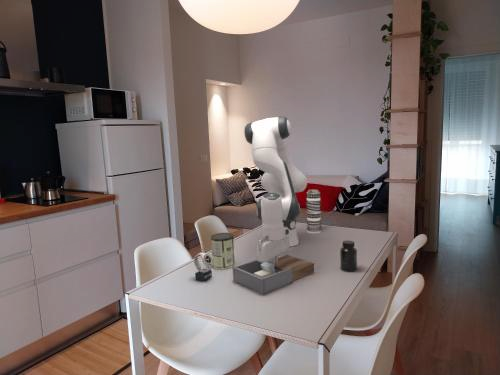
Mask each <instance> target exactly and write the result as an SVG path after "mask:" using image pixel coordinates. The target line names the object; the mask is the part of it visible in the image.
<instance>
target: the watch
mask: <svg viewBox="0 0 500 375" xmlns="http://www.w3.org/2000/svg"><path fill="white" fill-rule="evenodd" d="M199 256H200V257H201V261H202V264H203V265H204V266H205V267H206V268H202V266H201V264H200V261H199V259H198V257H199ZM193 264H194V266H195V268H196V270H197V271H196V272H195V273H194V276H195V277H194V278H195V281H197V282H201V283H205V282H206V281H209V280H210V279H211V278H213V272H212V271H213V270H212V268H213V260H212V255H210V254H209V253H206V252H199V253H197V254H196V255H195V256H194V258H193Z"/></svg>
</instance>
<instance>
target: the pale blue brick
mask: <svg viewBox="0 0 500 375" xmlns="http://www.w3.org/2000/svg"><path fill="white" fill-rule="evenodd" d="M261 267H262V270H265V271H267V272H270V273H271V275H272V274H274V273H276V271H275V269H274V266H273V264H270V263H268V262H265V263H262V264H261Z"/></svg>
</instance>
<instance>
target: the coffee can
mask: <svg viewBox="0 0 500 375" xmlns="http://www.w3.org/2000/svg"><path fill="white" fill-rule="evenodd" d="M210 242H211V243H210V244H211V257H212V260H213V262H212V268H213V269H215V270H228V269H233V267H235V265H236V264H235V262H236V261H235V247H234V245H235V244H234V234H233V233H231V232H218V233H214V234H212V235H210Z"/></svg>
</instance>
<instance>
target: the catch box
mask: <svg viewBox="0 0 500 375" xmlns="http://www.w3.org/2000/svg"><path fill="white" fill-rule="evenodd" d="M261 264H262V262H258V261H257V259H256V258H255V259H253V260H250V261H247V262H245V263H242V264H238V265H236V266H235V265H234V266H233V267H232V282H233V283H236V284H238V285H240V286H243V287H245V288H247V289H249V290H250V291H253V292H255V293H258V294H260V295H262V296H264V295H266V294H268V293H271V292H273V291H276V290H278V289H281V288H283V287H286V286H288V285H292V284H293V282H294V281H293V275H292V268H288V269H285V270H282V271H279V270H277V269H275V271H276V273H274V274H272V275H269V276H266V277H264V278H261V277H259V276H256V275H254V273H255V272H258V271H261V270H262V267H261Z"/></svg>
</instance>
